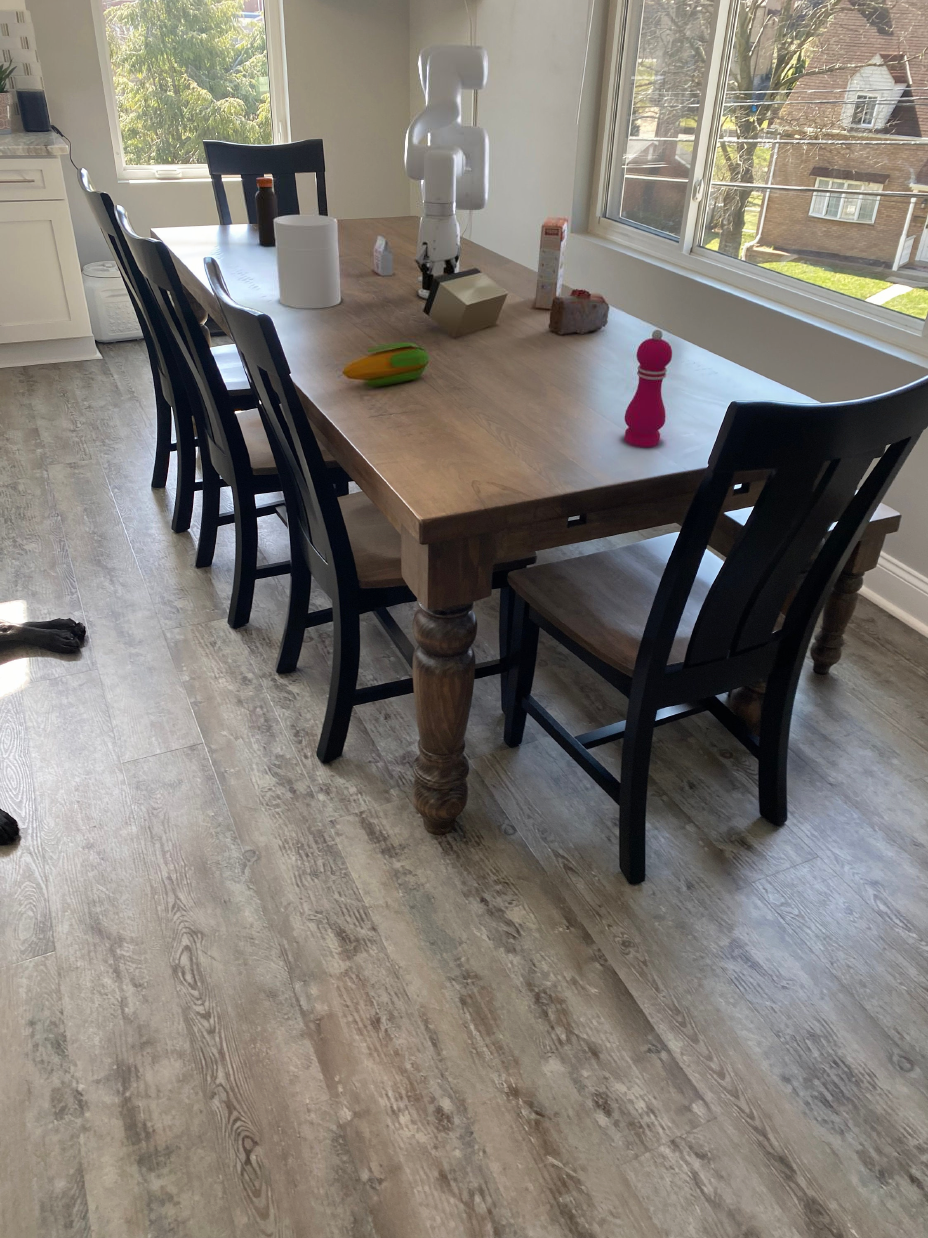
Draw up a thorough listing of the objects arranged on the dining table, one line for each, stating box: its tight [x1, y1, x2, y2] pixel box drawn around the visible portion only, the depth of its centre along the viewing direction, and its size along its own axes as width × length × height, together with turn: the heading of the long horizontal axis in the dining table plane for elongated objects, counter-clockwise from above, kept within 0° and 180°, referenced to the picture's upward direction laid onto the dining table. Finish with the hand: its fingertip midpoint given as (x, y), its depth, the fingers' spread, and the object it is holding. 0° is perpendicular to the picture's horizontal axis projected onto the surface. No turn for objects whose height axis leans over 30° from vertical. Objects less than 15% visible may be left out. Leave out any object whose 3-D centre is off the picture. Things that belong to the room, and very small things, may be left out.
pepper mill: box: [624, 329, 673, 448], centre depth 156 cm, size 7×7×20 cm
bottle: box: [255, 177, 279, 247], centre depth 292 cm, size 7×7×20 cm
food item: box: [548, 288, 610, 335], centre depth 219 cm, size 14×8×10 cm, turn 118°
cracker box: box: [534, 216, 569, 311], centre depth 237 cm, size 14×6×21 cm, turn 168°
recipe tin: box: [422, 267, 509, 338], centre depth 217 cm, size 16×16×9 cm
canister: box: [274, 214, 342, 310], centre depth 232 cm, size 16×16×20 cm
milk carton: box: [372, 235, 394, 277], centre depth 265 cm, size 4×7×10 cm, turn 24°
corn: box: [341, 341, 430, 387], centre depth 183 cm, size 7×8×20 cm
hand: (438, 286), depth 219 cm, fingers closed on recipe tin, 7 cm apart
